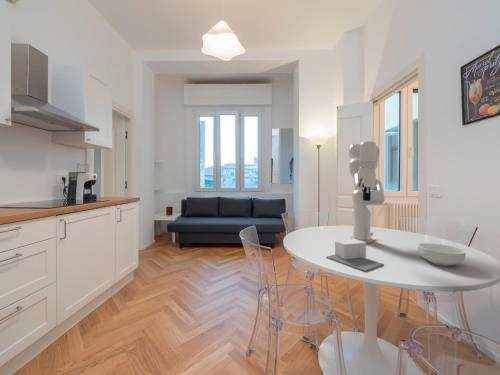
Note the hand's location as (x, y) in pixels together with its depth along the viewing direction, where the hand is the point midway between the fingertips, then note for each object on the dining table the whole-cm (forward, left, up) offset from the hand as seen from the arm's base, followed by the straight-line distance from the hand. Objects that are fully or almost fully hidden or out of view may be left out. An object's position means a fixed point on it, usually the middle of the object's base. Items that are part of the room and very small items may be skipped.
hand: (366, 200), depth 122 cm
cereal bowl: (-13, +28, -27) cm, 41 cm away
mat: (+19, +6, -27) cm, 34 cm away
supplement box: (+9, +3, -23) cm, 25 cm away
